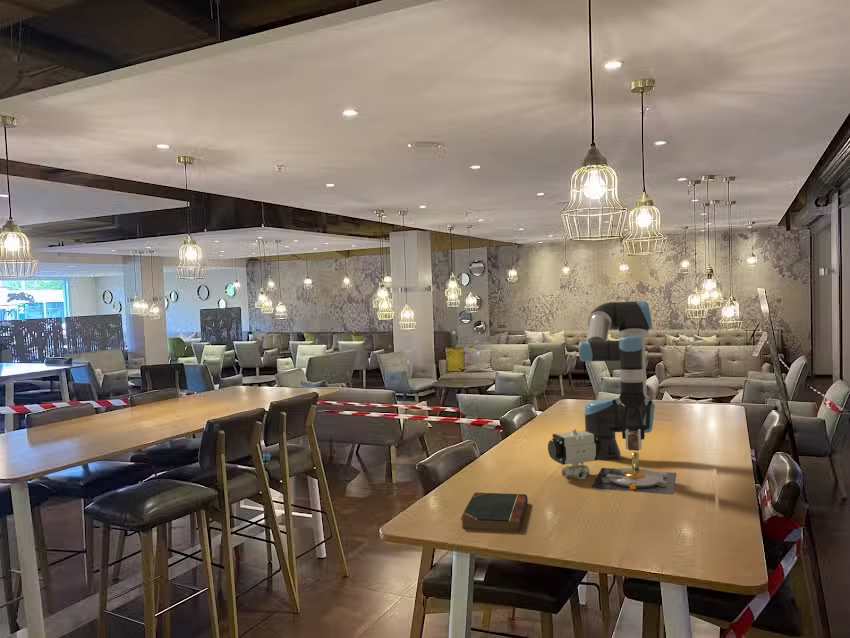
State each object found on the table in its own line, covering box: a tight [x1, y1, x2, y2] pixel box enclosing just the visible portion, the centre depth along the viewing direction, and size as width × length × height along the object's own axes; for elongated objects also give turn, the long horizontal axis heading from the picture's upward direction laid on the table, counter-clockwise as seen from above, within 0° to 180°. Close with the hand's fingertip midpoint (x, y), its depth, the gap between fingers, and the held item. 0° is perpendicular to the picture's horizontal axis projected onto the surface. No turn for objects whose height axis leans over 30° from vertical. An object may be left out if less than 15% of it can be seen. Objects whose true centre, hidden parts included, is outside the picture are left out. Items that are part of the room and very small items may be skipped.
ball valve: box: [547, 428, 602, 480], centre depth 230 cm, size 18×8×18 cm, turn 105°
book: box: [460, 492, 529, 532], centre depth 196 cm, size 17×4×25 cm
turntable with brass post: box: [602, 451, 667, 490], centre depth 222 cm, size 21×23×8 cm
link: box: [627, 432, 640, 452], centre depth 224 cm, size 4×7×5 cm, turn 156°
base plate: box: [590, 467, 677, 496], centre depth 222 cm, size 26×26×1 cm
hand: (633, 448), depth 222 cm, fingers closed on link, 3 cm apart
